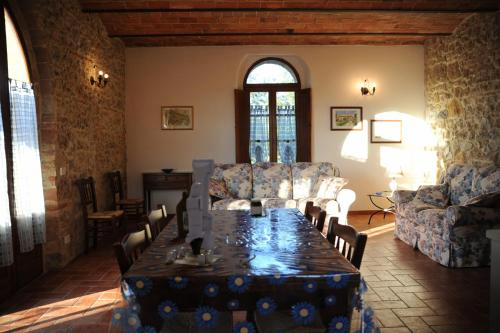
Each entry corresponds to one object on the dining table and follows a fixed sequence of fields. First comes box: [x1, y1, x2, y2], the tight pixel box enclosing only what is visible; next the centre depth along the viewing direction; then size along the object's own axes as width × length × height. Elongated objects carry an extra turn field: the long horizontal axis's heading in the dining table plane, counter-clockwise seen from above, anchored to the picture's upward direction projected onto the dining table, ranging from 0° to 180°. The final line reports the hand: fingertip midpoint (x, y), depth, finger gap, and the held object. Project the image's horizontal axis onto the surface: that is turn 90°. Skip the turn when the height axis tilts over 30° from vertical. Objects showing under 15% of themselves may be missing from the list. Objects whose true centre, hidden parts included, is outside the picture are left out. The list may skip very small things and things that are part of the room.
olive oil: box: [175, 190, 189, 239], centre depth 224 cm, size 11×11×25 cm
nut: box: [195, 248, 206, 257], centre depth 181 cm, size 4×5×3 cm
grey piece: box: [166, 246, 214, 266], centre depth 173 cm, size 12×20×4 cm, turn 69°
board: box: [165, 252, 224, 267], centre depth 176 cm, size 16×20×1 cm
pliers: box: [239, 253, 257, 269], centre depth 175 cm, size 10×1×20 cm
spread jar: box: [249, 197, 268, 217], centre depth 284 cm, size 12×11×12 cm
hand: (196, 255), depth 177 cm, fingers closed
